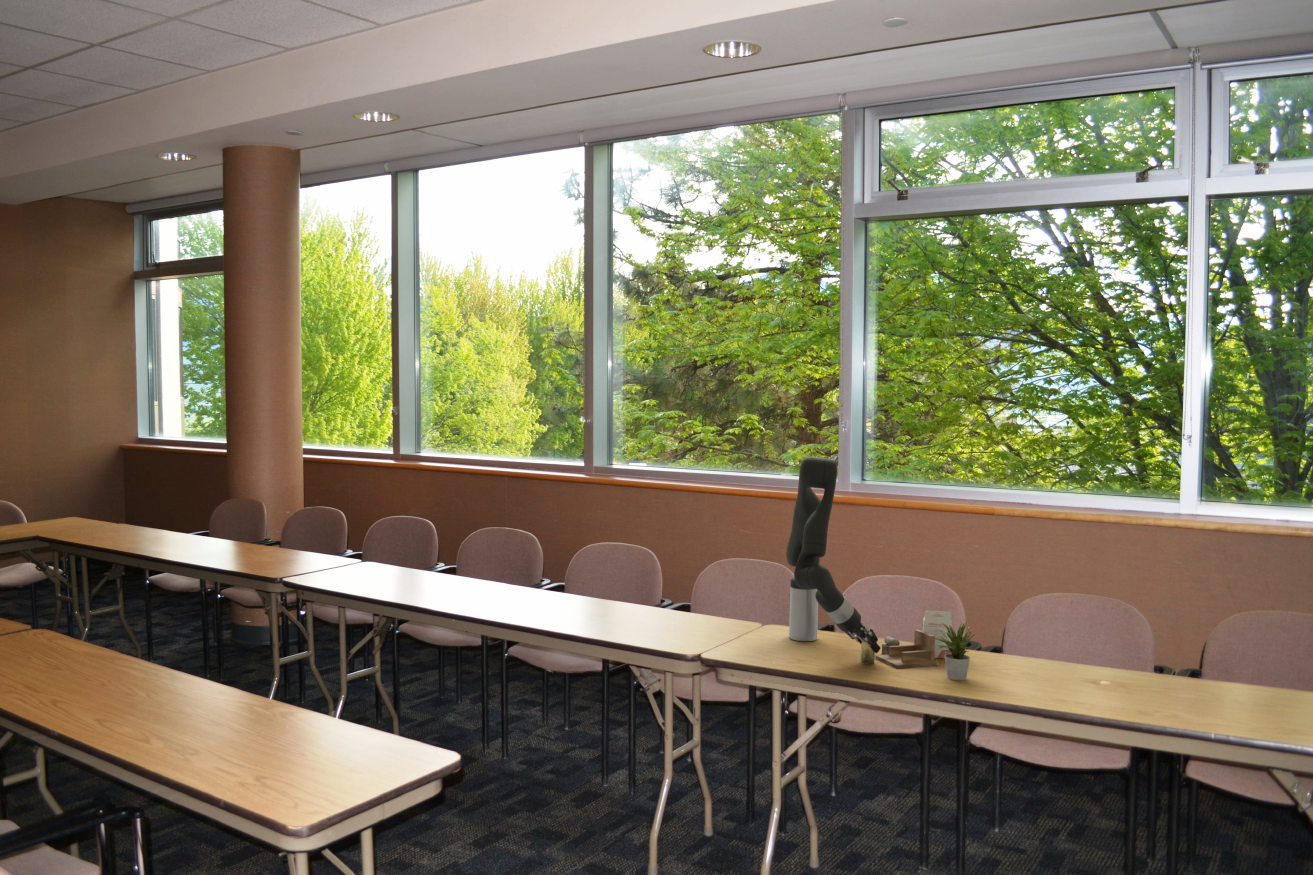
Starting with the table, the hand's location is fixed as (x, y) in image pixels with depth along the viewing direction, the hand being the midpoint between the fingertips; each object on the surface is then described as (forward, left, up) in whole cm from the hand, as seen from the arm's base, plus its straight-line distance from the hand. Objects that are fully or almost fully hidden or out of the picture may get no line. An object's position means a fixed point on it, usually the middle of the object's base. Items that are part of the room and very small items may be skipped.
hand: (872, 648), depth 296 cm
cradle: (0, +10, -4) cm, 11 cm away
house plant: (+20, +15, -4) cm, 26 cm away
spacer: (0, -2, -4) cm, 5 cm away
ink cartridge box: (-1, +23, -4) cm, 24 cm away
